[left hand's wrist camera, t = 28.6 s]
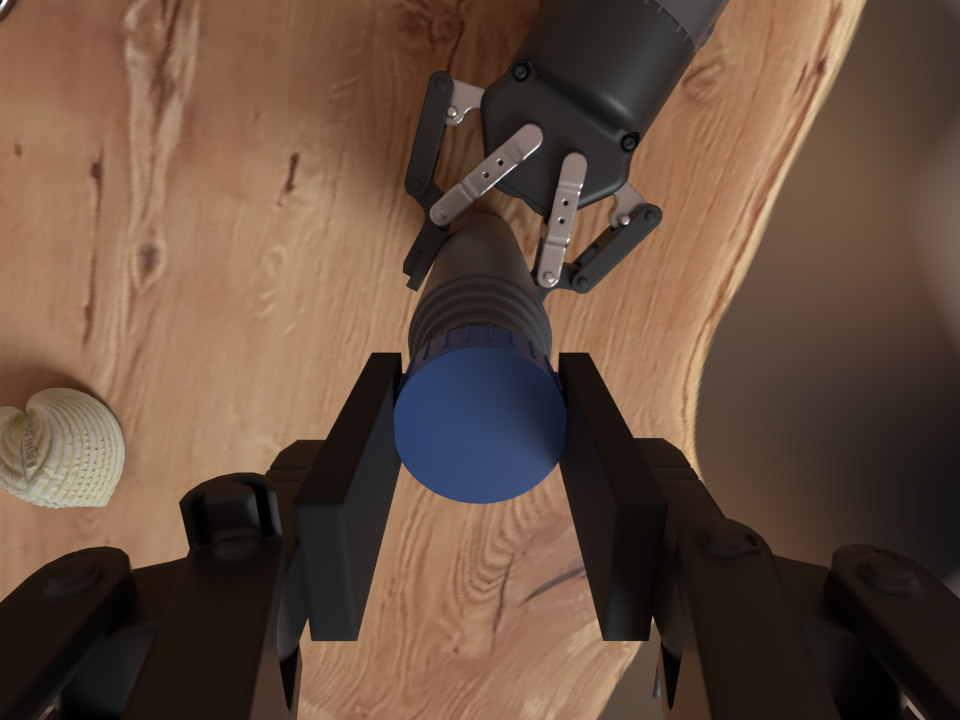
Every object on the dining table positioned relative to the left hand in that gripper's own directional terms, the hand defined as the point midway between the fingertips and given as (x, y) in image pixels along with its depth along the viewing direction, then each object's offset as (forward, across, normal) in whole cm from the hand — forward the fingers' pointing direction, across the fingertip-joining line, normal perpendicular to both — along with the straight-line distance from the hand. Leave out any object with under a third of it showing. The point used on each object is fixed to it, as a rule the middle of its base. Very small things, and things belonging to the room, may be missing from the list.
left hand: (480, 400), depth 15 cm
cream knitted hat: (+23, -30, -14) cm, 41 cm away
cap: (-1, 0, 0) cm, 1 cm away
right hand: (+17, -1, -2) cm, 17 cm away
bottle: (+23, 0, 0) cm, 23 cm away
